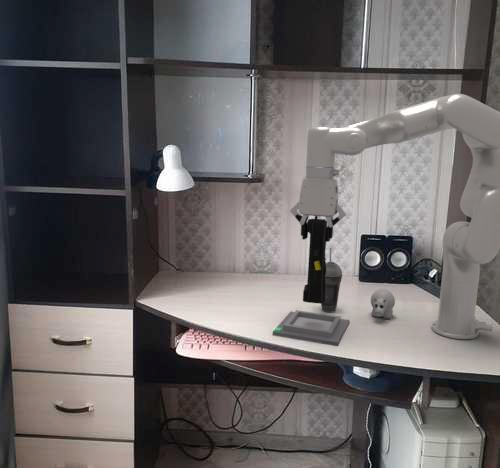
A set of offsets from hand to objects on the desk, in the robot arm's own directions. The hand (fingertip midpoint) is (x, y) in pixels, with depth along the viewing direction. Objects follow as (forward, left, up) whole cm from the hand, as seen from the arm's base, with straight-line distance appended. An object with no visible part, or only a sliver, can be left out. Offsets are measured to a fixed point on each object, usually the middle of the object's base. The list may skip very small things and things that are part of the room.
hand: (316, 239), depth 136 cm
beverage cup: (-1, -18, -26) cm, 32 cm away
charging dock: (0, 0, -26) cm, 26 cm away
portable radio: (0, 0, -18) cm, 18 cm away
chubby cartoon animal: (-17, -17, -26) cm, 36 cm away
